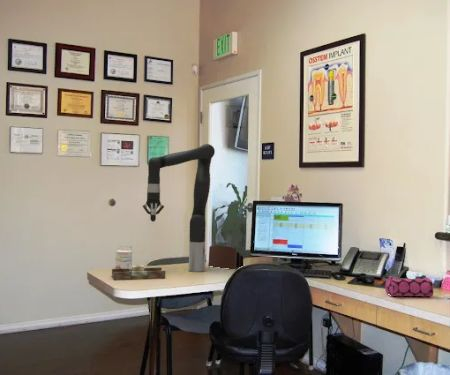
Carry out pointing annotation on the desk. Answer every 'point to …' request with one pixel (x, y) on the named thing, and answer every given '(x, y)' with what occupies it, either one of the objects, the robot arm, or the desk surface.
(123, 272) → the tunnel deck
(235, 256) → the letter holder
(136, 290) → the desk surface
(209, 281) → the desk surface
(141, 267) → the maple block
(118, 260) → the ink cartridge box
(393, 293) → the pencil case
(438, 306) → the desk surface
